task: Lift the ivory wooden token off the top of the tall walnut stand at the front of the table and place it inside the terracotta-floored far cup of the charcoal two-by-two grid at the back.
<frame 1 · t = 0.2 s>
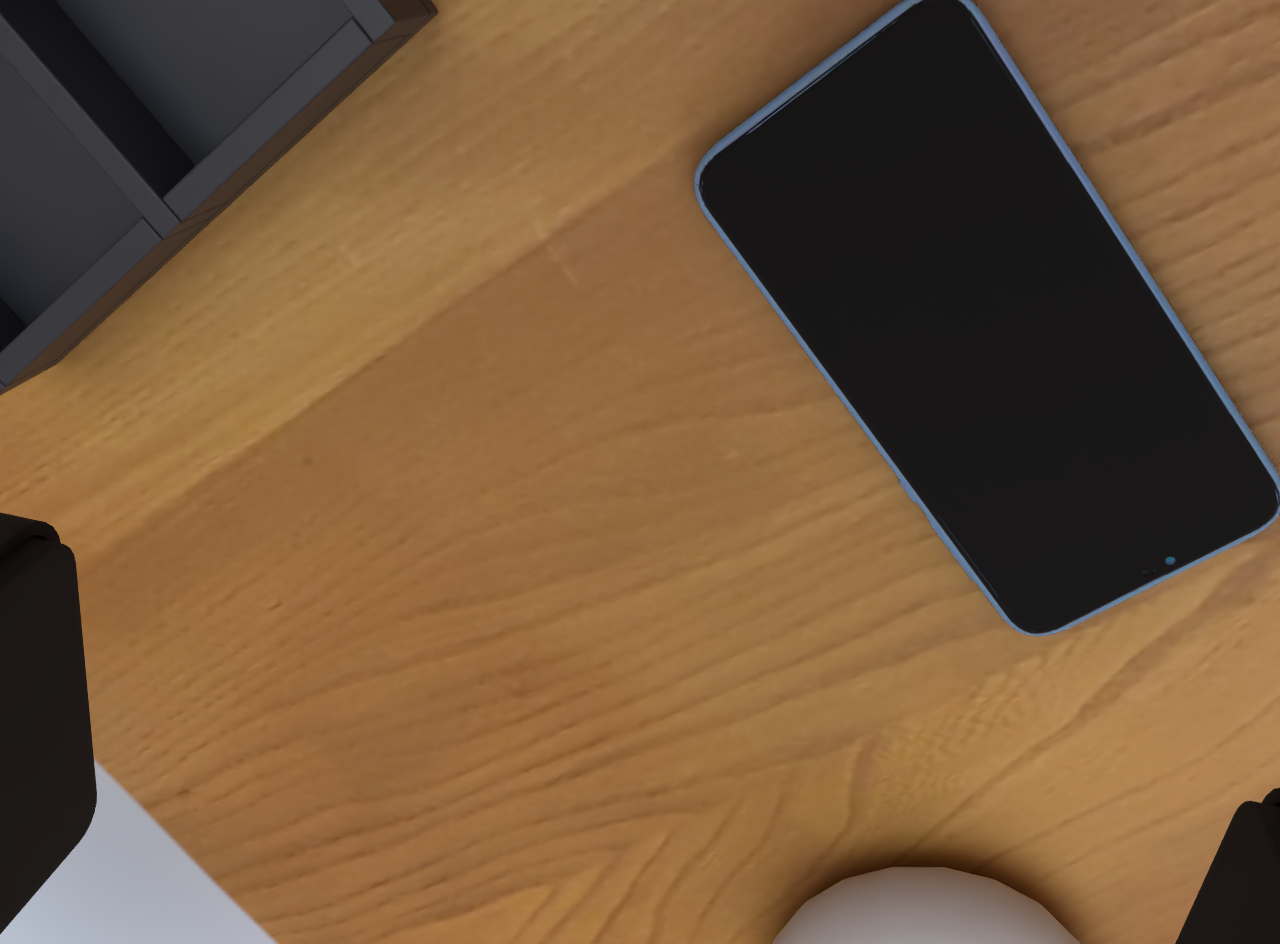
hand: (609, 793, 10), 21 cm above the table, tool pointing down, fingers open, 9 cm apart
smartphone: (988, 335, 29), on the table
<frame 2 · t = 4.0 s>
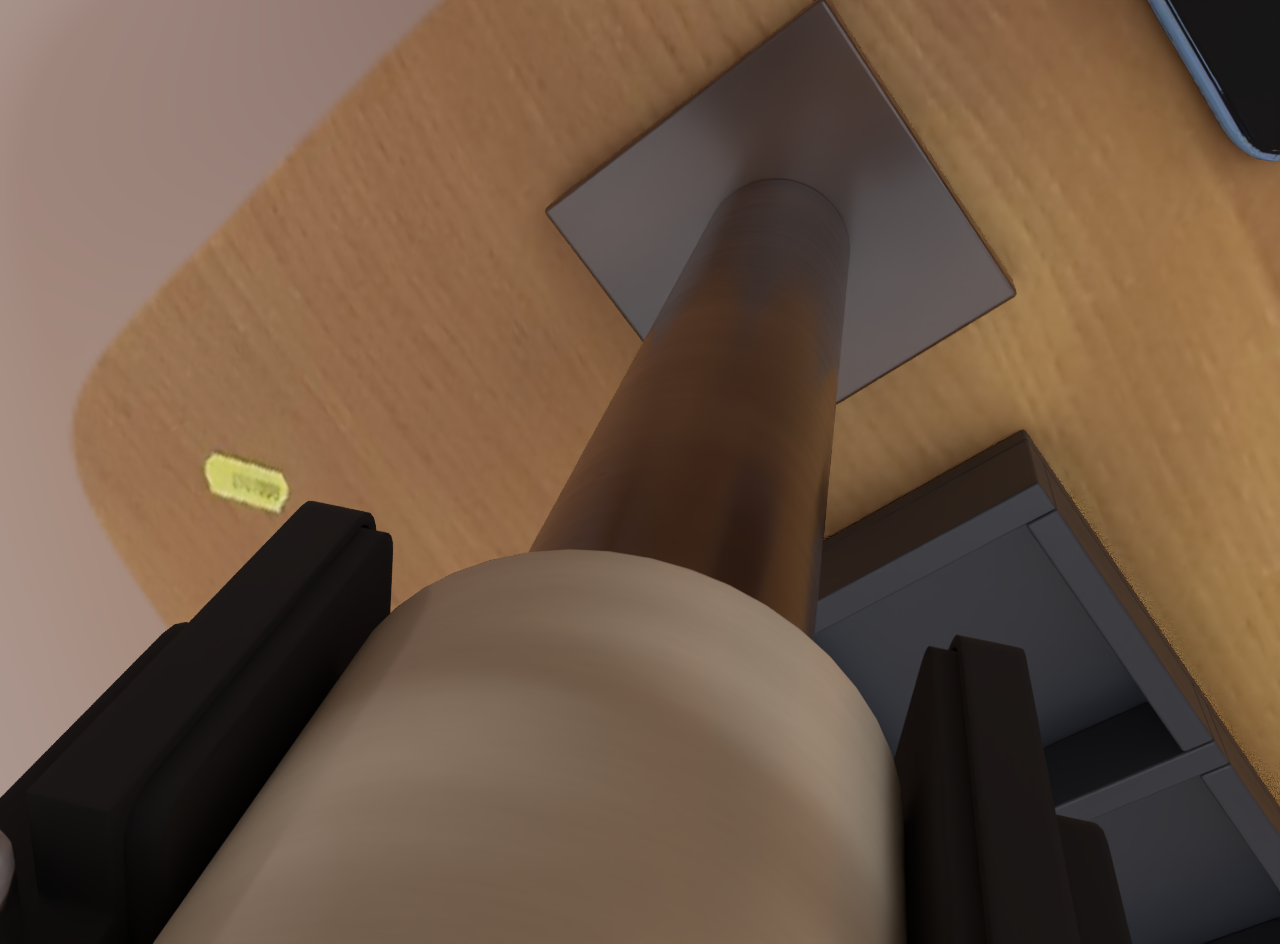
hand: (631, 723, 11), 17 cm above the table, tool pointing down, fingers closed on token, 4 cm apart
stand: (779, 240, 26), on the table
grid: (912, 801, 31), on the table
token: (607, 800, 10), point 18 cm above the table, touching gripper, stand
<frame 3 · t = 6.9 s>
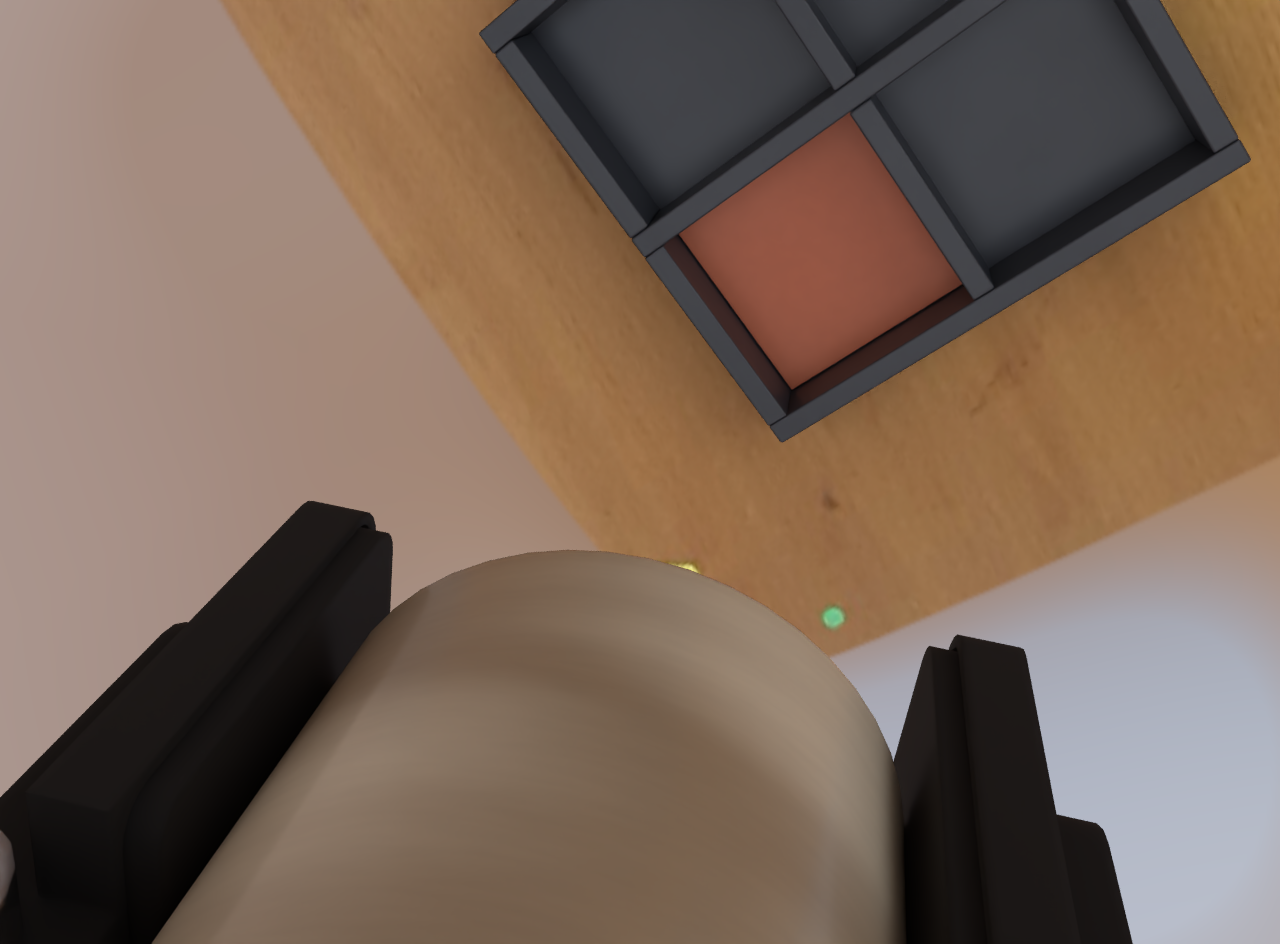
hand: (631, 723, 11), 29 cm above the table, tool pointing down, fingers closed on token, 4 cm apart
grid: (854, 81, 36), on the table
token: (606, 802, 10), point 30 cm above the table, touching gripper
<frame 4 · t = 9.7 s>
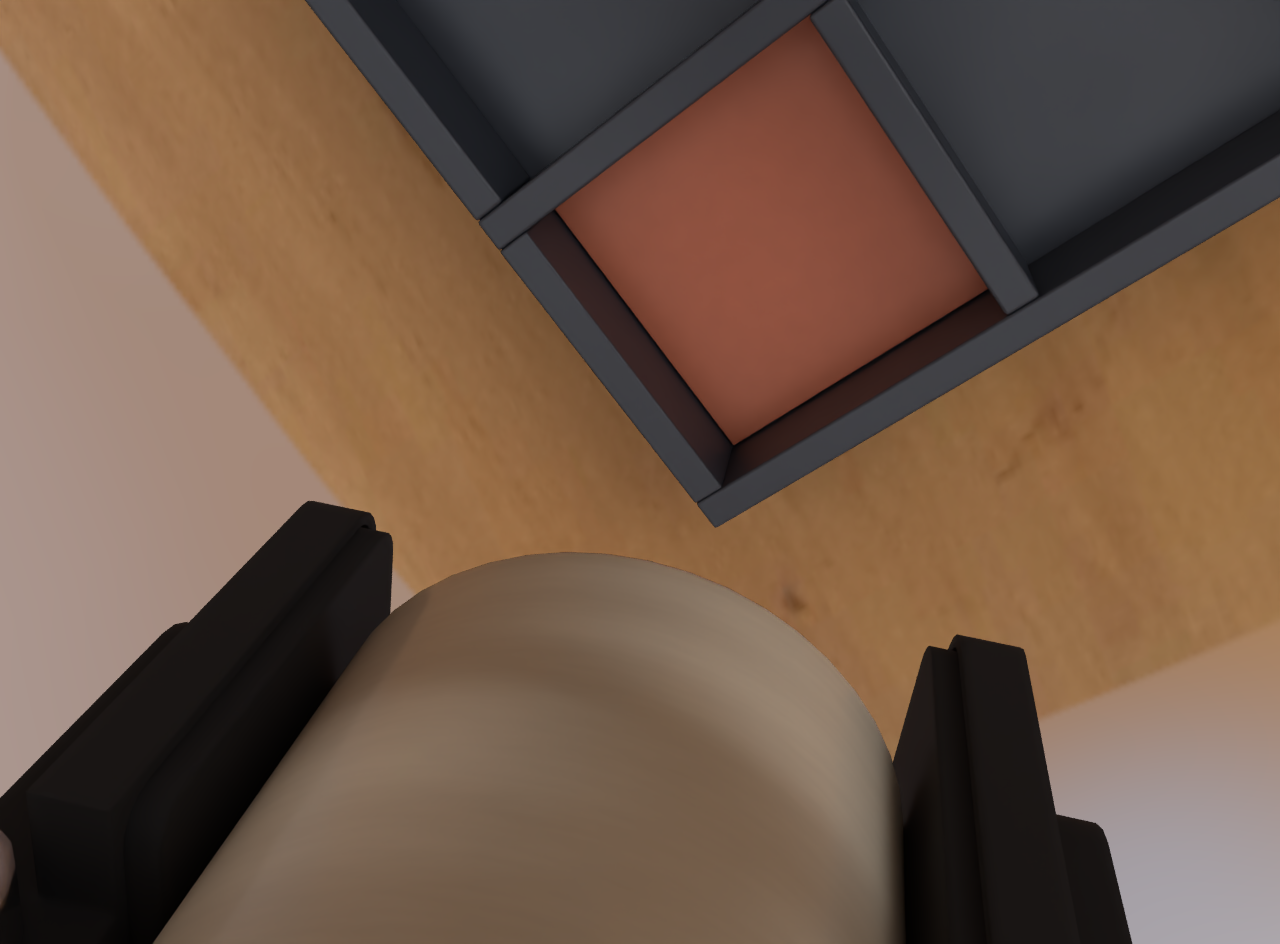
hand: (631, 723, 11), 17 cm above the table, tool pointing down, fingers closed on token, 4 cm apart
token: (606, 804, 10), point 18 cm above the table, touching gripper
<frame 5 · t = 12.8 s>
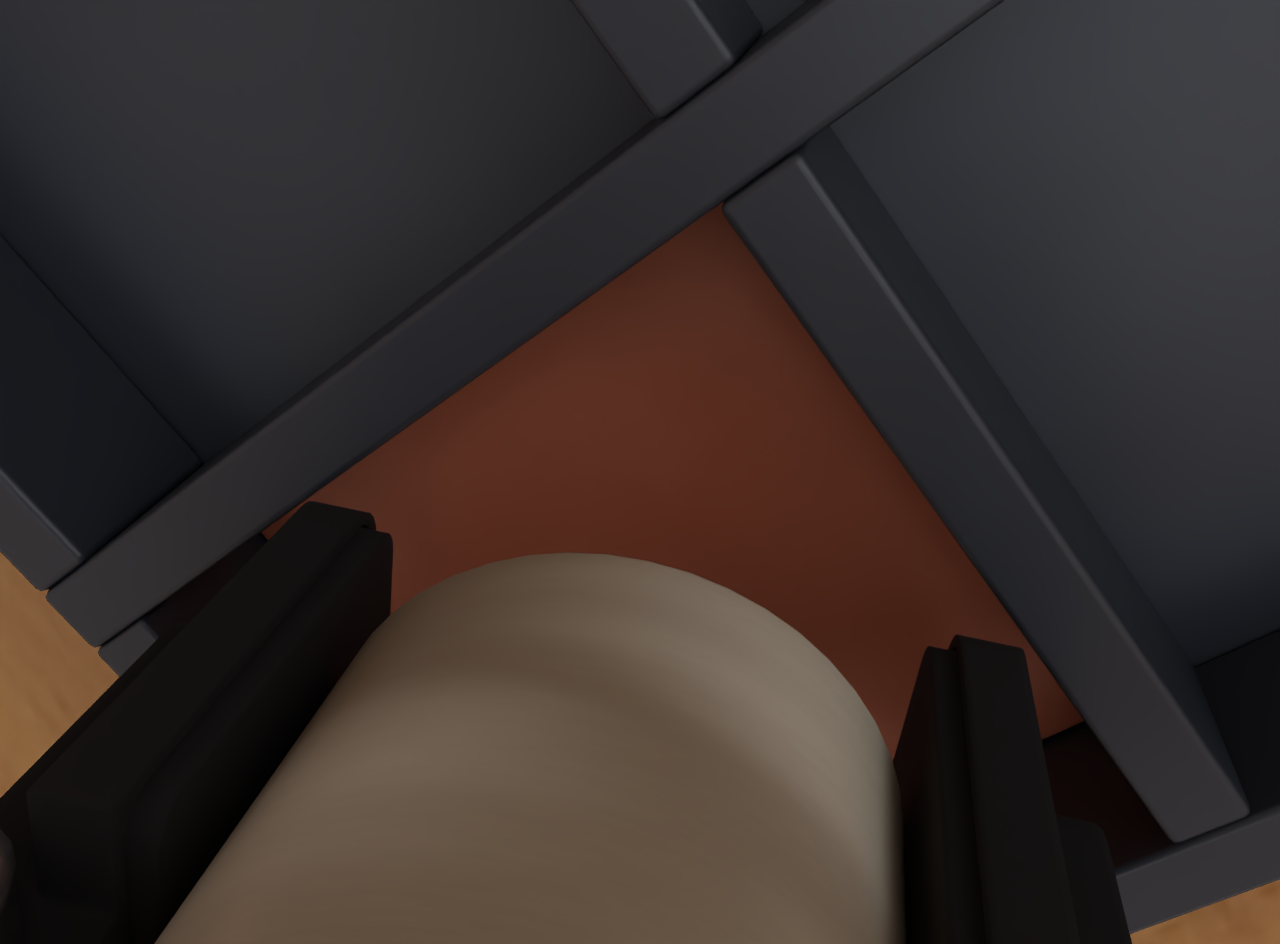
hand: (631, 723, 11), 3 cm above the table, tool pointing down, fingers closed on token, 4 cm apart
grid: (763, 83, 11), on the table
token: (606, 803, 10), point 4 cm above the table, touching gripper
when the fingers open (3 cm above the table, at t = 15.5 s): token drops 3 cm, resting on grid.
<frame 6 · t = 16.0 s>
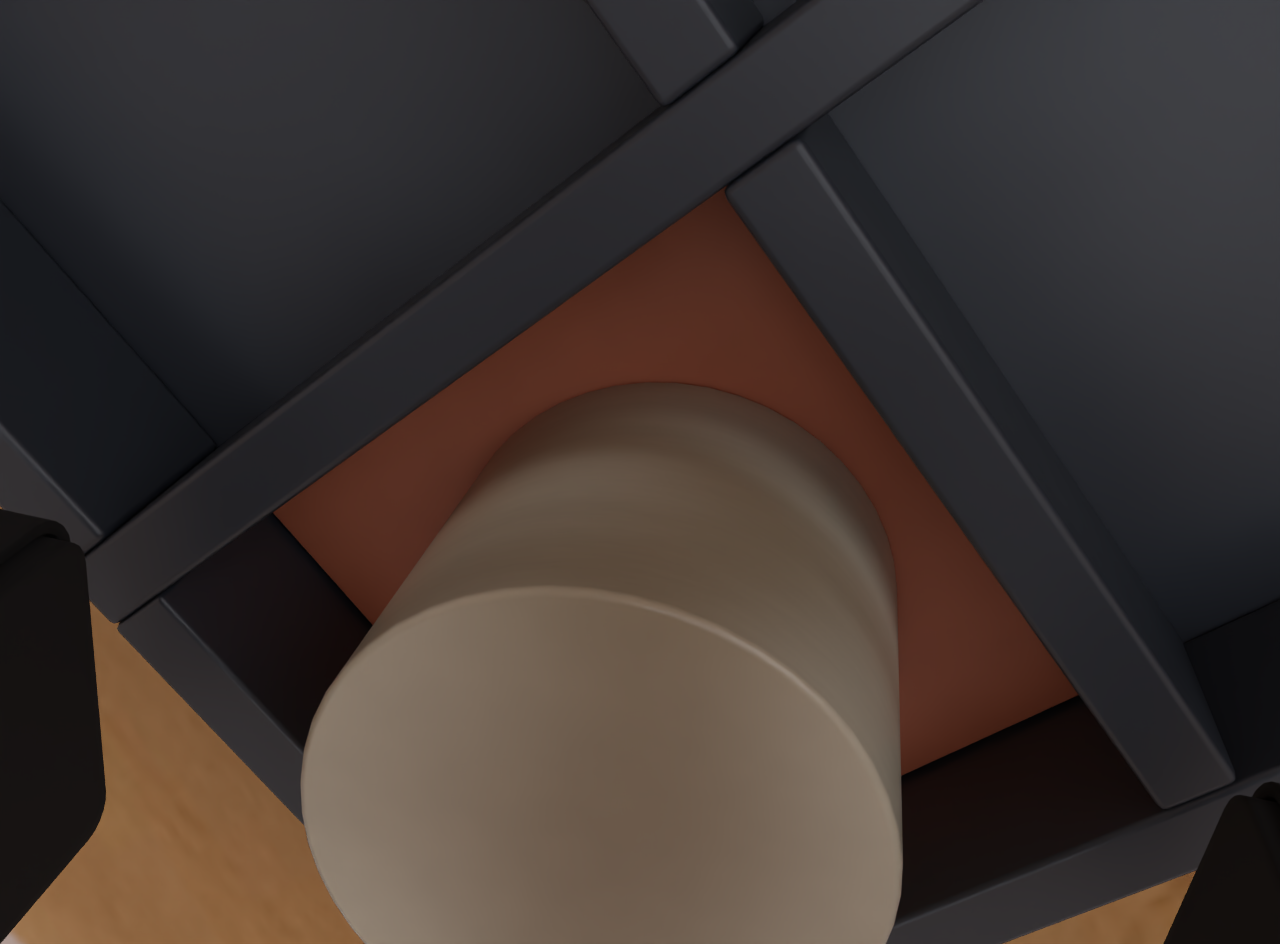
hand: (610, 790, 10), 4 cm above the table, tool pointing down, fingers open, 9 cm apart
grid: (764, 74, 11), on the table
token: (671, 587, 13), point 1 cm above the table, touching grid
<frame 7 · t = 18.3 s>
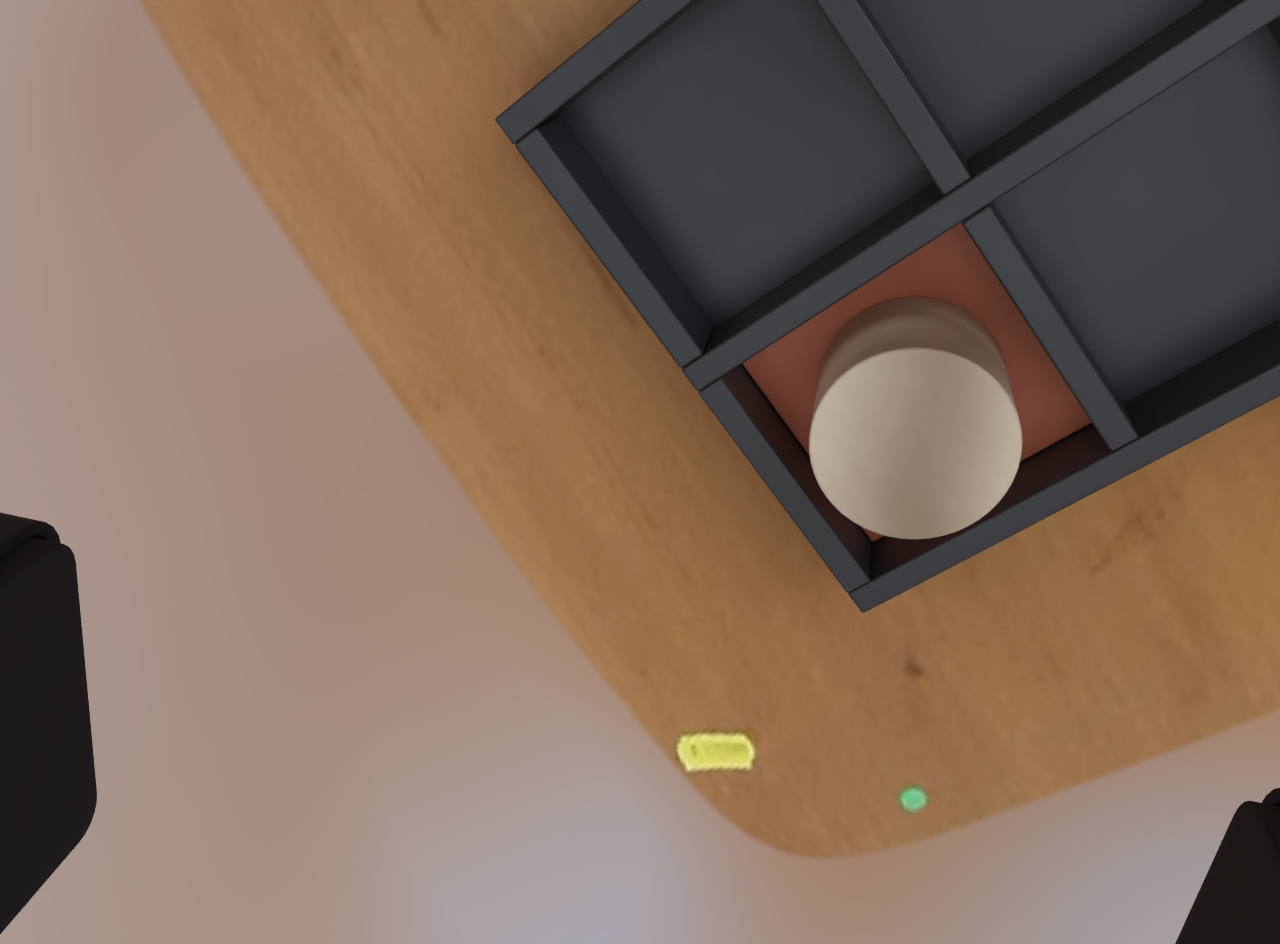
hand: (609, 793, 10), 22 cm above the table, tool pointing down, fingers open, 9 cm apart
grid: (959, 176, 29), on the table
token: (910, 385, 30), point 1 cm above the table, touching grid
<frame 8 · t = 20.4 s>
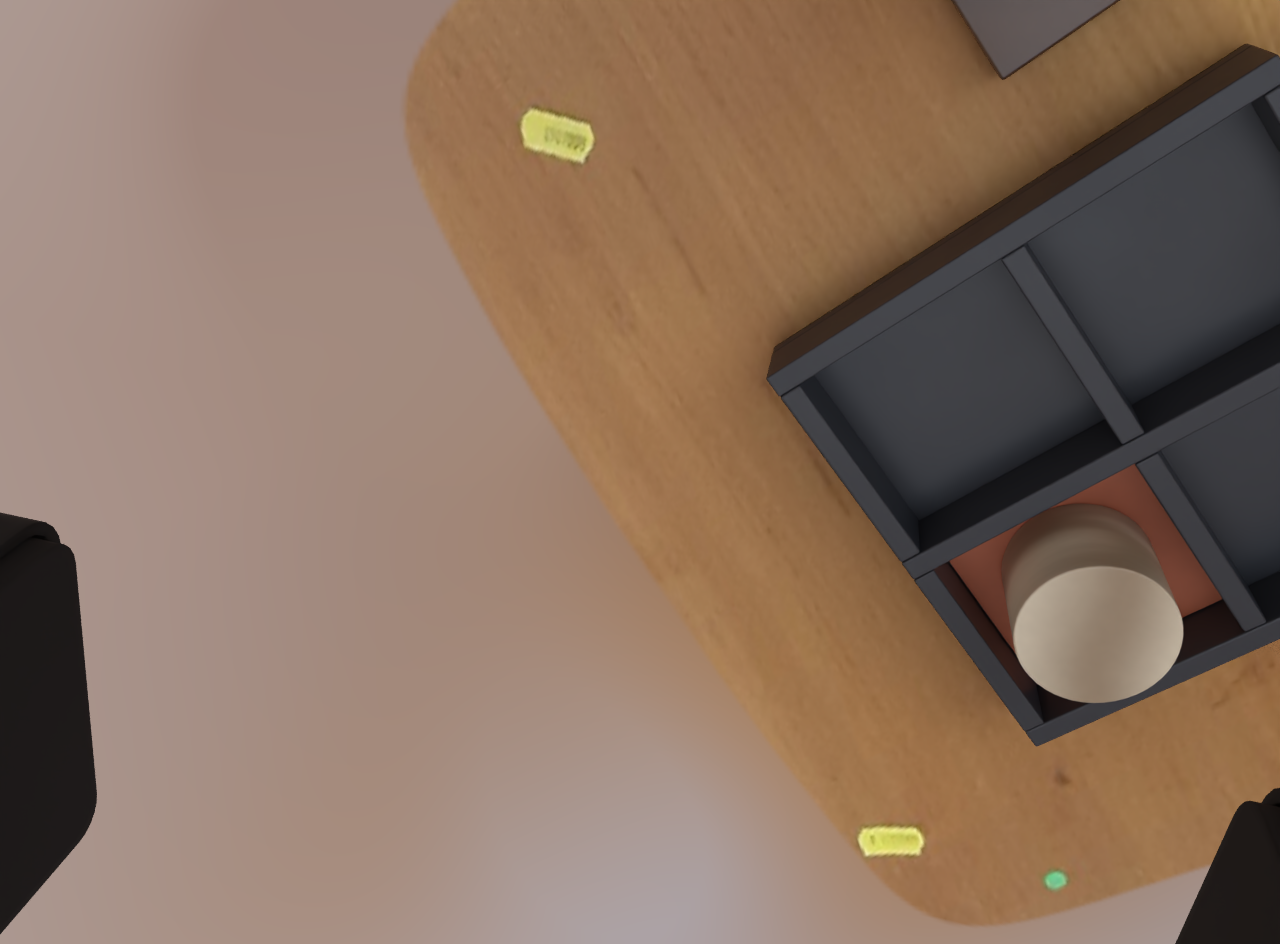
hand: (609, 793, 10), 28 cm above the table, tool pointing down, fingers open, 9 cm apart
grid: (1122, 412, 36), on the table
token: (1077, 568, 38), point 1 cm above the table, touching grid
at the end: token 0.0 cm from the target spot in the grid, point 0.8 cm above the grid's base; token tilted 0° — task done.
